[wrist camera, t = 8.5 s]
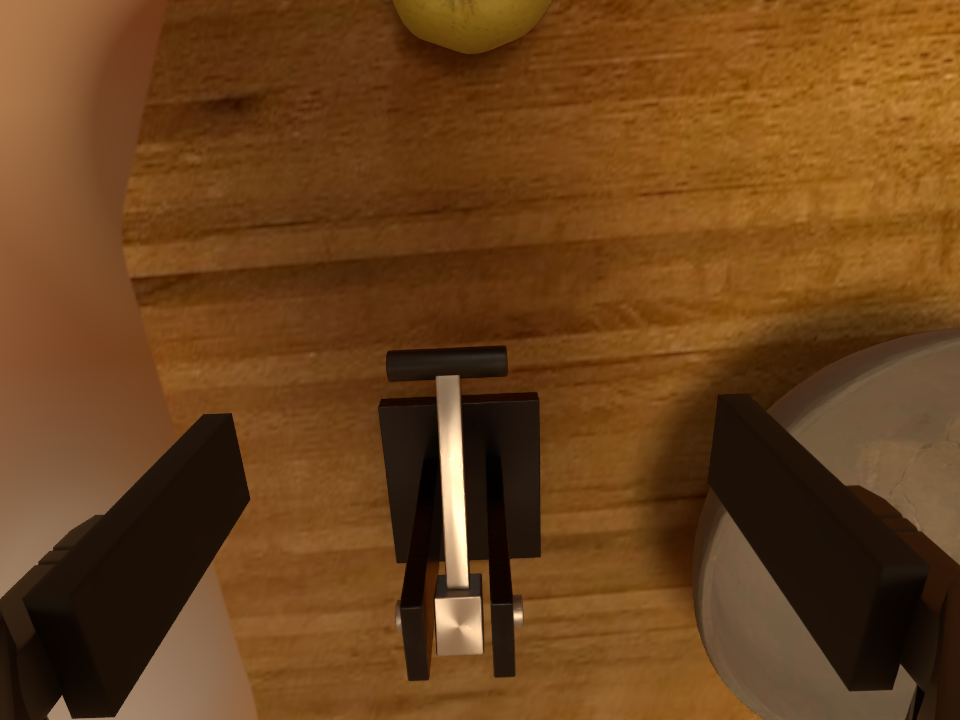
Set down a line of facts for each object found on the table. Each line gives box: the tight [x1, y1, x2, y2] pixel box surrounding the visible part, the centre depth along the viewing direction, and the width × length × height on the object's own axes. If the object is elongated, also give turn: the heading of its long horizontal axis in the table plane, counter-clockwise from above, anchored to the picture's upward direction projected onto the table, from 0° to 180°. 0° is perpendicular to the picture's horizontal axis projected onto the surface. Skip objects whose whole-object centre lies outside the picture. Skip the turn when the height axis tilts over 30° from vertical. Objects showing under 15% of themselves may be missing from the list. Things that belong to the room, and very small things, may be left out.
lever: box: [386, 345, 508, 656], centre depth 27 cm, size 14×6×2 cm, turn 3°
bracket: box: [378, 392, 541, 681], centre depth 32 cm, size 12×10×14 cm
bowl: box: [692, 328, 960, 720], centre depth 34 cm, size 26×26×10 cm
